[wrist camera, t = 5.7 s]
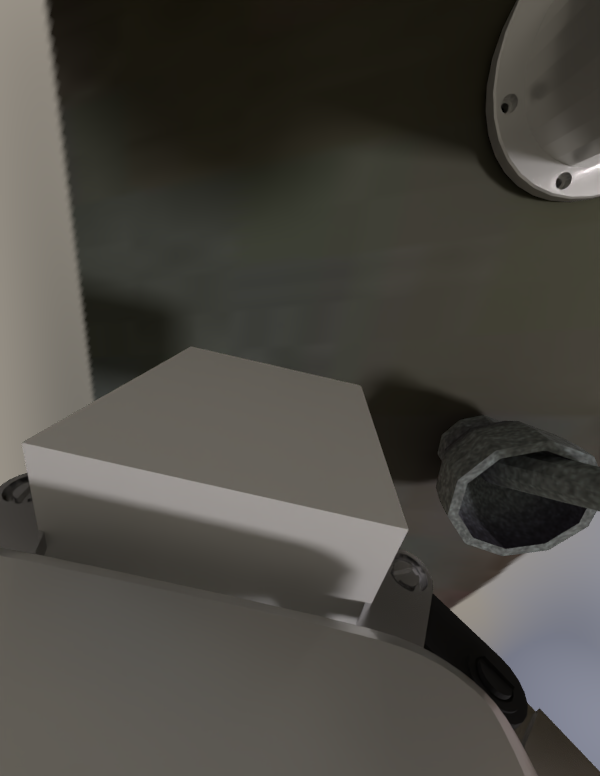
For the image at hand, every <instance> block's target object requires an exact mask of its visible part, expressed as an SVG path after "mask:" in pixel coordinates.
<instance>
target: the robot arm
mask: <svg viewBox="0 0 600 776" xmlns="http://www.w3.org/2000/svg"><path fill="white" fill-rule="evenodd" d="M501 107H502V108H503V109H504V112H502V109H501ZM486 119H487V128H488V136H489V139H490V142H491V145H492V148H493V151H494V155H495V157H496V159H497V160H498V162H499V164H500V165H501V167H502V169H503V171H504V172H505V174H506V175H507V176H508V177H509V178H510V179H511V180H512V181H513V182H514V183H515V184H516V185H517V186H518V187H520V188H522V189H523V190H525V191H527V192H528V193H530V194H531V195H533V196H536V197H540V198H543V199H546V200H549V201H561V202H574V201H581V200H588V199H592V198H596V197H599V196H600V0H516V2H515V4H514V7H513V9H512V11H511V13H510V15H509V17H508V19H507V21H506V23H505V25H504V27H503V29H502V32H501V34H500V37H499V40H498V43H497V46H496V49H495V52H494V55H493V57H492V62H491V67H490V72H489V77H488V82H487V93H486ZM46 549H47V545H46V539H45V534H44V531H41V530H38V526H37V521H36V515H35V510H34V505H33V500H32V494H31V489H30V484H29V478H28V473H25V474H22V475H19V476H17V477H14V478H12V479H10V480H8V481H7V482H5V483H4V484H2V485H1V486H0V776H600V771H599V770H598V769H597V768H596V767H595V766H594V765H593V764H592V763H591V762H590V761H589V760H588V759H587V758H586V757H585V755H583V753H582V752H581V751H580V750H579V749H578V748H577V747H576V746H575V745H574V744H573V743H572V742H571V741H570V740H569V739H568V738H567V737H566V736H565V735H564V734H563V733H562V731H561V730H560V729H559V728H558V727H557V726H556V725H555V724H554V723H553V722H552V721H551V720H550V719H549V718H548V717H547V716H546V715H545V714H544V713H543V712H542V711H541V709H538V710H537V711H536V712H535V711H534V710H533V708H532V707H531V706H530V705H529V704H528V703H527V701H526V697H525V693H524V691H523V689H522V687H521V684H520V682H519V680H518V679H517V677H516V676H515V674H514V673H513V672H512V670H511V668H510V667H509V666H508V665H507V664H506V663H505V662H504V661H503V660H502V658H500V657H499V656H498V655H497V654H496V653H495V652H494V651H493V650H492V649H491V648H490V647H489V646H488V645H487V644H486V643H485V642H484V641H483V640H481V639H480V638H479V637H478V636H477V635H476V634H475V633H474V632H473V631H472V630H471V629H470V628H469V627H468V626H467V625H466V624H465V623H463V622H462V621H461V620H460V619H459V618H458V617H457V616H456V615H455V614H454V613H453V612H452V611H451V610H450V609H449V608H448V607H447V606H445V605H444V604H443V603H442V602H441V601H440V600H439V599H438V598H437V597H436V596H435V595H434V594H433V580H432V577H431V574H430V572H429V570H428V569H427V567H426V566H425V565H424V564H423V562H422V561H421V560H420V559H419V558H417V557H416V556H415V555H413V554H412V553H410V552H408V551H406V550H402V549H400V547H399V549H398V551H397V553H396V555H395V557H394V559H393V561H392V563H391V565H390V567H389V569H388V571H387V573H386V575H385V577H384V579H383V581H382V583H381V585H380V587H379V589H378V591H377V593H376V595H375V598H374V600H373V602H372V604H371V603H366V602H365V604H364V606H363V608H362V611H361V613H360V615H359V617H358V619H357V622H356V625H354V624H350V623H346V622H342V621H338V620H334V619H329V618H325V617H321V616H317V615H313V614H308V613H304V612H300V611H295V610H291V609H286V608H282V607H277V606H273V605H269V604H264V603H260V602H255V601H251V600H246V599H242V598H238V597H233V596H228V595H224V594H219V593H215V592H210V591H206V590H201V589H197V588H192V587H188V586H183V585H178V584H174V583H169V582H165V581H160V580H156V579H151V578H146V577H142V576H137V575H133V574H128V573H123V572H118V571H114V570H109V569H104V568H100V567H95V566H90V565H86V564H81V563H76V562H72V561H67V560H62V559H57V558H53V557H47V556H44V555H45V552H46Z"/></svg>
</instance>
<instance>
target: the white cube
mask: <svg viewBox="0 0 600 776" xmlns="http://www.w3.org/2000/svg"><path fill="white" fill-rule="evenodd" d="M22 447H23V452H24V457H25V463H26V467H27V473H28V478H29V484H30V489H31V494H32V500H33V505H34V510H35V515H36V521H37V526H38V530H41V531H44V534H45V539H46V545H47V549H46V552H45V555H44V556H47V557H53V558H57V559H62V560H67V561H72V562H76V563H81V564H86V565H90V566H95V567H100V568H104V569H109V570H114V571H118V572H123V573H128V574H133V575H137V576H142V577H146V578H151V579H156V580H160V581H165V582H169V583H174V584H178V585H183V586H188V587H192V588H197V589H201V590H206V591H210V592H215V593H219V594H224V595H228V596H233V597H238V598H242V599H246V600H251V601H255V602H260V603H264V604H269V605H273V606H277V607H282V608H286V609H291V610H295V611H300V612H304V613H308V614H313V615H317V616H321V617H325V618H329V619H334V620H338V621H342V622H346V623H350V624H354V625H356V622H357V619H358V617H359V615H360V613H361V611H362V608H363V606H364V604H365V602H366V603H371V604H372V602H373V600H374V598H375V595H376V593H377V591H378V589H379V587H380V585H381V583H382V581H383V579H384V577H385V575H386V573H387V571H388V569H389V567H390V565H391V563H392V561H393V559H394V557H395V555H396V553H397V551H398V549H399V547H400V545H401V543H402V541H403V539H404V537H405V535H406V533H407V531H408V527H407V524H406V521H405V518H404V515H403V512H402V509H401V506H400V503H399V500H398V497H397V494H396V491H395V488H394V485H393V481H392V478H391V475H390V472H389V469H388V466H387V463H386V460H385V457H384V454H383V451H382V448H381V445H380V442H379V439H378V436H377V433H376V430H375V427H374V424H373V421H372V418H371V415H370V412H369V409H368V406H367V403H366V400H365V396H364V393H363V390H362V387H361V386H360V385H356V384H351V383H347V382H343V381H338V380H334V379H330V378H325V377H321V376H317V375H312V374H308V373H304V372H299V371H295V370H291V369H286V368H282V367H278V366H273V365H269V364H265V363H260V362H256V361H252V360H247V359H243V358H239V357H234V356H230V355H226V354H221V353H217V352H213V351H208V350H204V349H200V348H195V347H189V348H187V349H186V350H184V351H182V352H180V353H179V354H177V355H175V356H173V357H172V358H170V359H168V360H166V361H165V362H163V363H161V364H159V365H158V366H156V367H154V368H152V369H150V370H149V371H147V372H145V373H143V374H142V375H140V376H138V377H136V378H135V379H133V380H131V381H129V382H128V383H126V384H124V385H122V386H121V387H119V388H117V389H115V390H113V391H112V392H110V393H108V394H106V395H105V396H103V397H101V398H99V399H98V400H96V401H94V402H92V403H91V404H89V405H87V406H86V407H84V408H82V409H80V410H78V411H76V412H75V413H73V414H71V415H69V416H68V417H66V418H64V419H63V420H61V421H59V422H57V423H55V424H54V425H52V426H50V427H48V428H47V429H45V430H43V431H41V432H39V433H38V434H36V435H34V436H33V437H31V438H29V439H27V440H25V441H24V442H22Z"/></svg>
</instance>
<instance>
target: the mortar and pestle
mask: <svg viewBox="0 0 600 776" xmlns="http://www.w3.org/2000/svg"><path fill="white" fill-rule="evenodd" d="M437 454H438V455H439V457H440V459H441V460H442V463H441V467H440V471H439V475H438V480H437V484H436V489H437V492H438V496H439V499H440V502H441V504H442V506H443V508H444V510H445V512H446V514H447V516H448V517H449V519H450V520H451V522H452V524H453V525H454V527H455V528H456V530H457V531H458V533H459V534H460V536H461V538H462V539H463V541H464V542H465V544H468V545H471V546H474V547H477V548H480V549H483V550H486V551H489V552H492V553H495V554H498V555H501V556H506V555H514V554H522V553H529V552H536V551H544V550H549V549H551V548H553V547H554V546H556V545H557V544H559V543H561V542H563V541H564V540H566V539H568V538H569V537H571V536H573V535H574V534H576V533H578V532H579V531H581V530H583V529H584V528H586V527H588V526H589V524H590V522H591V520H592V518H593V517H594V515H595V513H596V511H600V467H598V465H597V463H596V460H595V458H594V456H592V455H591V454H589V453H588V452H586V451H585V450H584V449H582V448H581V447H579V446H578V445H576V444H574V443H572V442H569V441H567V440H565V439H563V438H561V437H559V436H557V435H554V434H551V433H549V432H546V431H543V430H541V429H538V428H535V427H533V426H530V425H527V424H524V423H522V422H519V421H502V422H501V421H498V420H495V419H492V418H490V417H487V416H484V415H481V416H476V417H471V418H467V419H462V420H459V421H458V422H456V423H455V424H454V425H453V426H452V427H451V428H449V429H448V430H447V431H446V432H445V433H444V434H442V436H441V441H440V445H439V449H438V453H437Z"/></svg>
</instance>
